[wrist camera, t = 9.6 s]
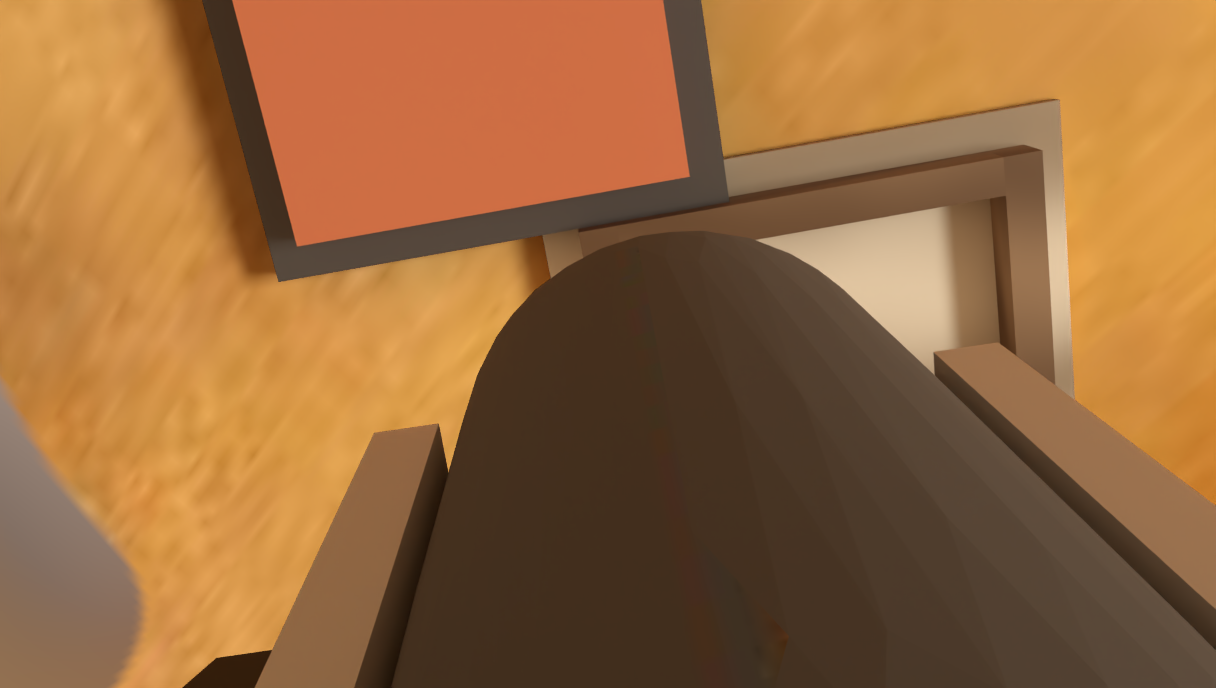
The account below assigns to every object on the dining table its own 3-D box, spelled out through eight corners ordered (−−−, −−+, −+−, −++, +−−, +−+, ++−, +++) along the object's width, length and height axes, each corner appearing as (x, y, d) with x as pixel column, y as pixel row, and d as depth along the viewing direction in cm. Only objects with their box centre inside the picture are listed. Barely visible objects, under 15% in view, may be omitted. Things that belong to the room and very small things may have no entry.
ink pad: (159, -208, 26) (126, -225, 24) (653, -301, 26) (659, -326, 24) (288, 272, 30) (268, 291, 28) (724, 195, 30) (734, 208, 28)
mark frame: (534, 191, 30) (532, 201, 28) (1055, 99, 29) (1079, 103, 28) (622, 642, 34) (624, 670, 32) (1078, 565, 33) (1101, 590, 32)
